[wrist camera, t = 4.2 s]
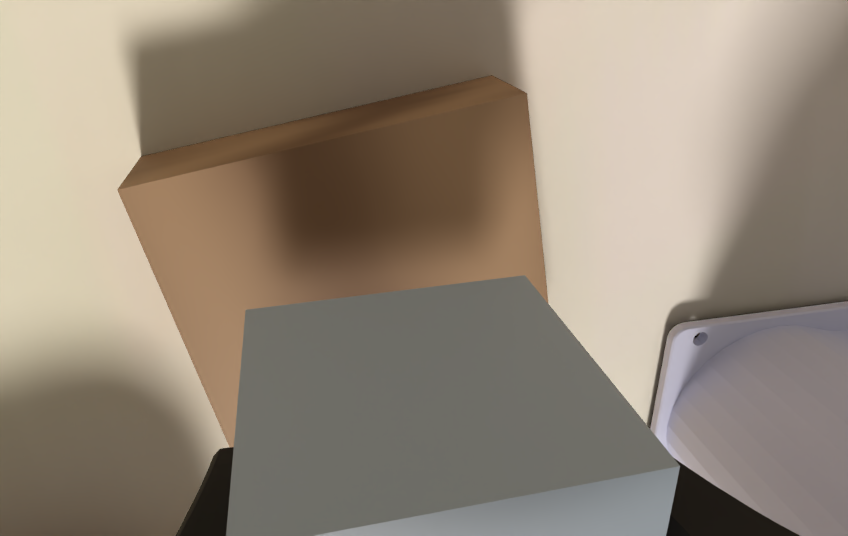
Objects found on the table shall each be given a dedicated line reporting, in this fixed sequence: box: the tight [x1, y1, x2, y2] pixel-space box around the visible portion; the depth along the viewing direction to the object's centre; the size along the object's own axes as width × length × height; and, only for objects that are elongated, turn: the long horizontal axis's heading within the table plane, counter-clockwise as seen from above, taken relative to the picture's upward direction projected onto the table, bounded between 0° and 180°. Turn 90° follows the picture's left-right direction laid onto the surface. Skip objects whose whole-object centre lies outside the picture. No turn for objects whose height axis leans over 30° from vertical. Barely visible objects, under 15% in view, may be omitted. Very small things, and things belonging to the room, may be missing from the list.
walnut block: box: [118, 75, 548, 447], centre depth 17 cm, size 9×9×3 cm
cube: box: [226, 275, 680, 536], centre depth 10 cm, size 5×5×5 cm
